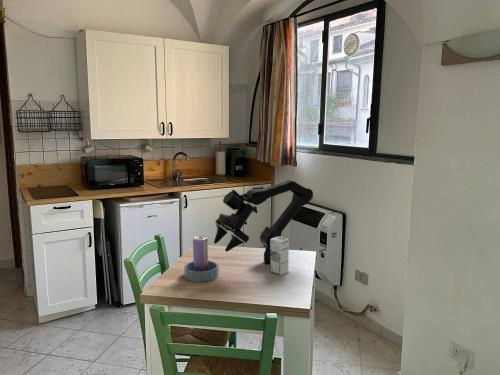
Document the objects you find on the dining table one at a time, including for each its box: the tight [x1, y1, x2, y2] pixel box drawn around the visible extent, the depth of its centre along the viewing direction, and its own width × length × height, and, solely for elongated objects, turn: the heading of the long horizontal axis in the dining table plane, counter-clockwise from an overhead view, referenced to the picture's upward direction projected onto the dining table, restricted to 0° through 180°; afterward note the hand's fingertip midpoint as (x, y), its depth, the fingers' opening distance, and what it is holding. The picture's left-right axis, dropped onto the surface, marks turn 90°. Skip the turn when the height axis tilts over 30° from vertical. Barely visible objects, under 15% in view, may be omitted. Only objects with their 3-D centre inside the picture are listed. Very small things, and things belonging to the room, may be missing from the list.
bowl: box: [183, 260, 220, 283], centre depth 166 cm, size 14×14×4 cm
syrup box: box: [269, 236, 290, 276], centre depth 169 cm, size 6×6×14 cm
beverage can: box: [192, 235, 209, 272], centre depth 165 cm, size 6×6×15 cm
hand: (220, 247), depth 169 cm, fingers open, 9 cm apart
